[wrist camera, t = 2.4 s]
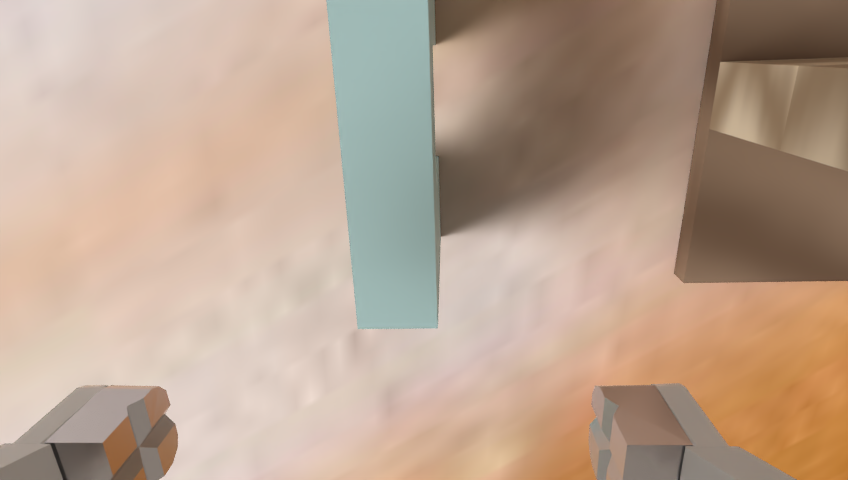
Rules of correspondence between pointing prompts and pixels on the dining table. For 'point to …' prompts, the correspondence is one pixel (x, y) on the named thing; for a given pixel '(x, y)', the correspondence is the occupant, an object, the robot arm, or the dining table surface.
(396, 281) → the green arch block
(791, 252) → the stand
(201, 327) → the dining table surface
